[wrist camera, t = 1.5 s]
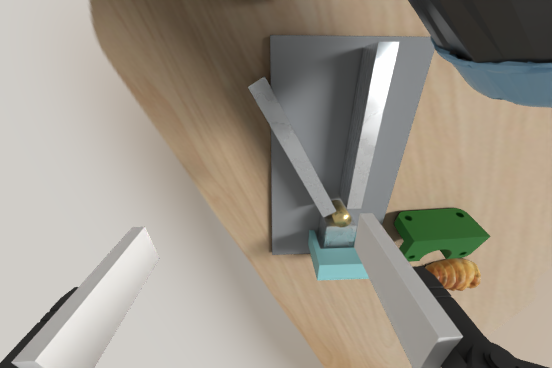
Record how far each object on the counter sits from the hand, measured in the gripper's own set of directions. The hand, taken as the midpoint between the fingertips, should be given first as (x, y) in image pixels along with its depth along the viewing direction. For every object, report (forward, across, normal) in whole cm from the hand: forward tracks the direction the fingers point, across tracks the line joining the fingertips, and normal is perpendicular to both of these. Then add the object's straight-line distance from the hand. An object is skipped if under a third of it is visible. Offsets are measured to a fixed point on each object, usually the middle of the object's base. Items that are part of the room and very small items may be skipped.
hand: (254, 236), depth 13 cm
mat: (+17, +10, -4) cm, 21 cm away
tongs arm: (+17, +4, 0) cm, 17 cm away
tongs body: (+17, +11, -5) cm, 21 cm away
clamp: (+18, +26, -16) cm, 35 cm away
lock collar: (+16, +10, -16) cm, 25 cm away
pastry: (+18, +35, -28) cm, 48 cm away
